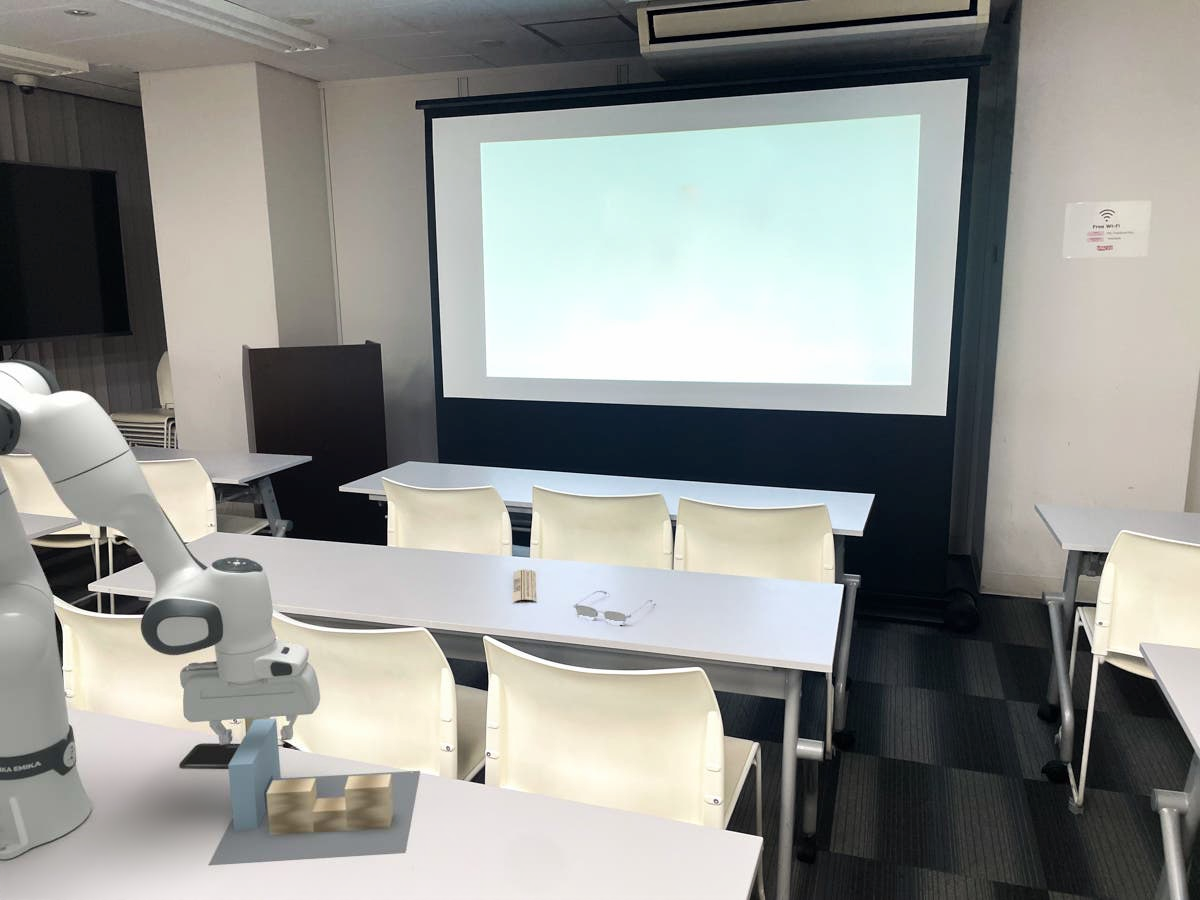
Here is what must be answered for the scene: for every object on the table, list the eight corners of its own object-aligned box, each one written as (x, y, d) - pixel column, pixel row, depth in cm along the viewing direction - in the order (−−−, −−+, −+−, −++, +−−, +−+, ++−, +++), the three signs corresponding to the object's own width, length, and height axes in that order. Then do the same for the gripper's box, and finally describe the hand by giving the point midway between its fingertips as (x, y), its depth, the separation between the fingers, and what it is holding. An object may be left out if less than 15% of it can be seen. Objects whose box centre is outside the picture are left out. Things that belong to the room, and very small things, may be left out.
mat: (208, 867, 128) (208, 865, 128) (251, 782, 150) (251, 779, 149) (405, 855, 131) (405, 852, 131) (420, 772, 152) (420, 770, 152)
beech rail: (269, 835, 135) (266, 793, 133) (275, 821, 138) (272, 780, 137) (390, 827, 137) (388, 786, 135) (393, 814, 140) (391, 774, 139)
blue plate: (234, 830, 136) (228, 765, 134) (259, 779, 150) (254, 719, 147) (257, 829, 136) (252, 763, 134) (280, 778, 150) (276, 718, 148)
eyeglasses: (572, 618, 221) (572, 603, 220) (606, 596, 237) (606, 581, 236) (628, 630, 214) (628, 614, 213) (658, 606, 230) (659, 591, 229)
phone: (262, 767, 153) (176, 766, 153) (263, 773, 153) (177, 772, 153) (279, 743, 160) (197, 742, 161) (280, 749, 161) (198, 748, 161)
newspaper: (536, 605, 231) (536, 598, 230) (508, 606, 230) (508, 599, 230) (534, 575, 254) (534, 569, 253) (510, 575, 253) (509, 569, 253)
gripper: (170, 673, 134) (181, 755, 137) (309, 664, 136) (317, 746, 139) (185, 655, 140) (196, 734, 143) (318, 647, 142) (325, 725, 145)
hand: (257, 740), depth 141 cm, fingers open, 8 cm apart
